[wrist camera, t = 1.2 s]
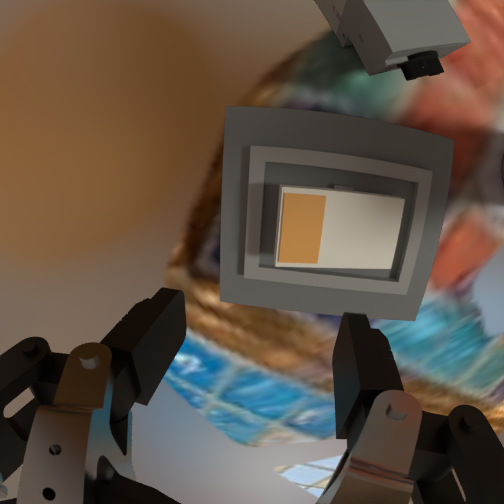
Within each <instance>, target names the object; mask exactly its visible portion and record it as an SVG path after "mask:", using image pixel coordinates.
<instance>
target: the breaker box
mask: <svg viewBox="0 0 504 504" xmlns="http://www.w3.org/2000/svg"><path fill="white" fill-rule="evenodd" d="M453 153H454V140H453V139H450V138H447V137H443V136H440V135H437V134H433V133H429V132H426V131H422V130H418V129H414V128H410V127H406V126H401V125H397V124H392V123H387V122H383V121H377V120H372V119H367V118H361V117H355V116H349V115H342V114H335V113H327V112H319V111H309V110H299V109H287V108H271V107H244V106H227V107H226V110H225V127H224V147H223V171H222V200H221V241H220V301H222V302H229V303H236V304H243V305H250V306H258V307H265V308H273V309H282V310H290V311H299V312H308V313H318V314H328V315H339V316H343V314H344V312H353V313H365V314H366V315H367V318H375V319H390V320H407V321H415V319H416V316H417V313H418V310H419V308H420V305H421V302H422V299H423V296H424V293H425V290H426V286H427V283H428V280H429V276H430V273H431V270H432V266H433V262H434V259H435V255H436V251H437V247H438V243H439V239H440V234H441V230H442V225H443V220H444V215H445V210H446V205H447V199H448V193H449V186H450V179H451V171H452V163H453ZM280 184H282V185H296V186H309V187H321V188H331V189H341V190H351V191H360V192H368V193H376V194H384V195H391V196H398V197H400V198H403V199H405V202H404V208H403V214H402V219H401V225H400V230H399V235H398V240H397V245H396V249H395V254H394V258H393V262H392V266H391V269H359V268H312V267H275V264H274V249H275V238H276V226H277V214H278V201H279V188H280Z"/></svg>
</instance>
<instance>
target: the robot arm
mask: <svg viewBox="0 0 504 504" xmlns="http://www.w3.org/2000/svg"><path fill="white" fill-rule="evenodd" d="M502 175H503V182H504V157H503V163H502ZM186 328H187V327H186V313H185V299H184V293H183V291H181V290H175V289H169V288H161V289H160V290H159V291H158V292H157V293H156V294H155V295H154V296H153V297H152V298H151V299H149V298H147V299H145V300H143V301H141V302H139V303H137V304H135V306H133V308H132V309H131V310H130V311H129V312H128V314H126V315H125V316H124V317H123V318H122V321H119V322H118V323H117V324H116V325H115V327H114V328H113V329H112V330H111V331H110V332H109V333H108V334H107V335H106V336H105V337H104V339H103V340H102V341H101V342H100V343H97V342H90V343H85V344H82V345H79V346H77V347H76V348H74V349H73V350H72V351H71V352H70V354H63V353H54V352H51V349H50V347H49V344H48V342H47V341H46V340H45V339H44V338H41V337H29V338H26V339H24V340H22V341H21V342H19V343H18V344H16V345H15V346H13V347H12V348H10V349H9V350H7V351H6V352H5V353H3V354H2V355H0V498H5V497H6V496H7V494H8V490H7V488H6V486H5V485H3V482H4V481H5V480H6V479H7V478H8V477H9V476H10V475H11V474H12V473H13V472H14V471H16V470H17V468H18V467H20V466H21V465H22V464H23V466H22V471H21V476H20V482H19V489H18V496H17V498H13V499H9V500H4V501H0V504H181V503H179V502H177V501H175V500H174V499H172V498H170V497H168V496H166V495H165V494H163V493H161V492H160V491H158V490H157V489H155V488H152V487H149V486H147V485H144V484H142V483H139V482H136V476H135V472H134V470H133V466H132V459H131V458H132V456H131V455H132V411H131V408H132V406H133V404H134V403H135V402H137V403H140V404H143V405H146V406H147V404H148V403H149V401H150V399H151V397H152V396H153V394H154V392H155V390H156V389H157V387H158V385H159V383H160V382H161V380H162V378H163V377H164V375H165V373H166V371H167V370H168V368H169V366H170V364H171V363H172V361H173V359H174V358H175V356H176V354H177V352H178V351H179V349H180V347H181V346H182V344H183V342H184V339H185V336H186ZM332 366H333V380H334V396H335V417H336V439H347V449H346V451H345V452H344V454H343V456H342V458H341V460H340V462H339V464H338V466H337V468H336V470H335V471H334V473H333V475H332V477H331V479H330V481H329V482H328V484H327V486H326V488H325V489H324V491H323V493H322V494H321V496H320V498H319V499H318V501H317V502H316V504H408V503H409V501H410V497H411V498H412V501H413V504H504V448H503V446H502V444H501V442H500V441H499V439H498V437H497V435H496V434H495V432H494V430H493V429H492V427H491V425H490V424H489V422H488V420H487V419H486V417H485V416H484V414H483V413H482V412H481V411H480V410H479V409H477V408H475V407H473V406H470V405H459V406H457V407H455V408H454V409H453V410H452V411H451V412H450V414H449V415H448V416H444V415H439V414H434V413H429V412H425V411H423V410H422V408H421V405H420V403H419V402H418V401H417V399H416V398H415V397H413V396H412V395H411V394H409V393H407V392H404V388H403V385H402V382H401V378H400V375H399V372H398V369H397V366H396V363H395V360H394V357H393V354H392V351H391V348H390V345H389V342H388V339H387V338H386V336H385V335H384V334H383V333H382V332H381V331H380V330H379V329H372V328H371V327H370V324H369V321H368V318H367V315H366V314H365V313H353V312H344V314H343V317H342V320H341V324H340V328H339V332H338V336H337V339H336V343H335V346H334V351H333V359H332ZM28 387H29V389H30V390H31V392H32V394H33V395H34V397H35V398H33V400H31V401H30V402H29V403H28V404H26V405H25V406H24V407H23V408H22V409H21V410H19V411H18V412H17V413H16V414H15V415H13V416H12V417H10V418H5V417H4V415H3V411H4V408H5V406H6V405H7V404H8V403H10V402H11V401H12V400H13V399H14V398H16V397H17V396H18V395H19V394H21V393H22V392H23V391H24V390H25V389H27V388H28ZM453 469H454V470H455V472H456V475H457V477H458V479H459V482H460V484H461V486H462V488H463V491H464V494H465V497H466V502H465V501H464V499H463V497H462V494H461V492H460V490H459V487H458V485H457V482H456V480H455V478H454V475H453V473H452V471H451V470H453Z"/></svg>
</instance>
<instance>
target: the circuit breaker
mask: <svg viewBox="0 0 504 504" xmlns="http://www.w3.org/2000/svg"><path fill="white" fill-rule="evenodd" d="M314 1H315V2H316V4H317V5H318V6H319V8H320V10H321V11H322V13H323V15H324V16H325V18H326V19H327V21H328V23H329V24H330V26H331V28H332V29H333V31H334V33H335V35H336V36H337V38H338V40H339V42H340V43H341V45H342V47H347V46H351V45H354V47H355V49H356V51H357V53H358V55H359V57H360V59H361V61H362V63H363V65H364V67H365V69H366V71H367V73H368V75H369V76H371V75H375V74H379V73H383V72H387V71H391V70H395V69H400V68H401V69H402V71H403V74H404V76H405V78H406V80H407V81H409V80H413V79H416V78H418V77H423V76H428V75H429V76H433V75H438V74H440V73H443V72H444V70H443V68H442V65H441V63H440V61H439V59H441V58H442V57H444V56H446V55H448V54H450V53H452V52H453V51H455V50H457V49H459V48H461V47H463V46H465V45H467V44H468V43H470V42H471V41H470V39H469V37H468V35H467V33H466V31H465V29H464V27H463V26H462V24H461V22H460V20H459V18H458V17H457V15H456V13H455V12H454V10H453V8H452V7H451V5H450V3H449V2H448V0H314Z"/></svg>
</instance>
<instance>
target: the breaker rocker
mask: <svg viewBox="0 0 504 504" xmlns="http://www.w3.org/2000/svg"><path fill="white" fill-rule="evenodd" d="M404 202H405V199H403V198H400V197H398V196H391V195H384V194H376V193H368V192H360V191H351V190H341V189H331V188H321V187H309V186H296V185H282V184H280V188H279V201H278V214H277V226H276V238H275V249H274V264H275V267H312V268H359V269H391V266H392V262H393V258H394V254H395V249H396V245H397V240H398V235H399V230H400V225H401V219H402V214H403V208H404Z"/></svg>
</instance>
